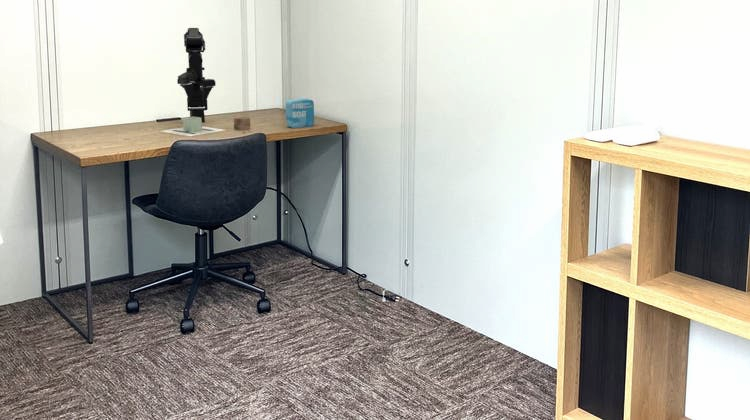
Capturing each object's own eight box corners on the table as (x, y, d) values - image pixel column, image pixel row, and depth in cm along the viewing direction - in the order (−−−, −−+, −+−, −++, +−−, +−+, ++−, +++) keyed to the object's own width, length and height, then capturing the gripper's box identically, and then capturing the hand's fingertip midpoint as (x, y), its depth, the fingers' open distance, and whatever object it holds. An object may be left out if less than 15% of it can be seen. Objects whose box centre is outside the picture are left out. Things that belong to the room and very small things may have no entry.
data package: (290, 128, 409) (290, 101, 406) (286, 127, 412) (285, 100, 409) (314, 126, 415) (313, 99, 412) (309, 124, 419) (309, 98, 416)
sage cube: (183, 130, 396) (183, 117, 394) (193, 128, 400) (193, 116, 398) (192, 131, 392) (191, 119, 391) (202, 130, 396) (201, 117, 395)
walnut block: (234, 131, 399) (233, 118, 398) (242, 130, 403) (242, 116, 402) (242, 133, 397) (241, 119, 395) (250, 131, 400) (250, 117, 399)
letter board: (159, 133, 395) (159, 131, 394) (195, 127, 410) (195, 125, 410) (190, 138, 383) (190, 136, 382) (226, 132, 398) (226, 129, 398)
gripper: (166, 65, 392) (168, 101, 396) (195, 68, 381) (197, 105, 385) (186, 63, 401) (188, 99, 405) (215, 66, 389) (217, 102, 393)
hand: (197, 101), depth 397 cm, fingers open, 9 cm apart
